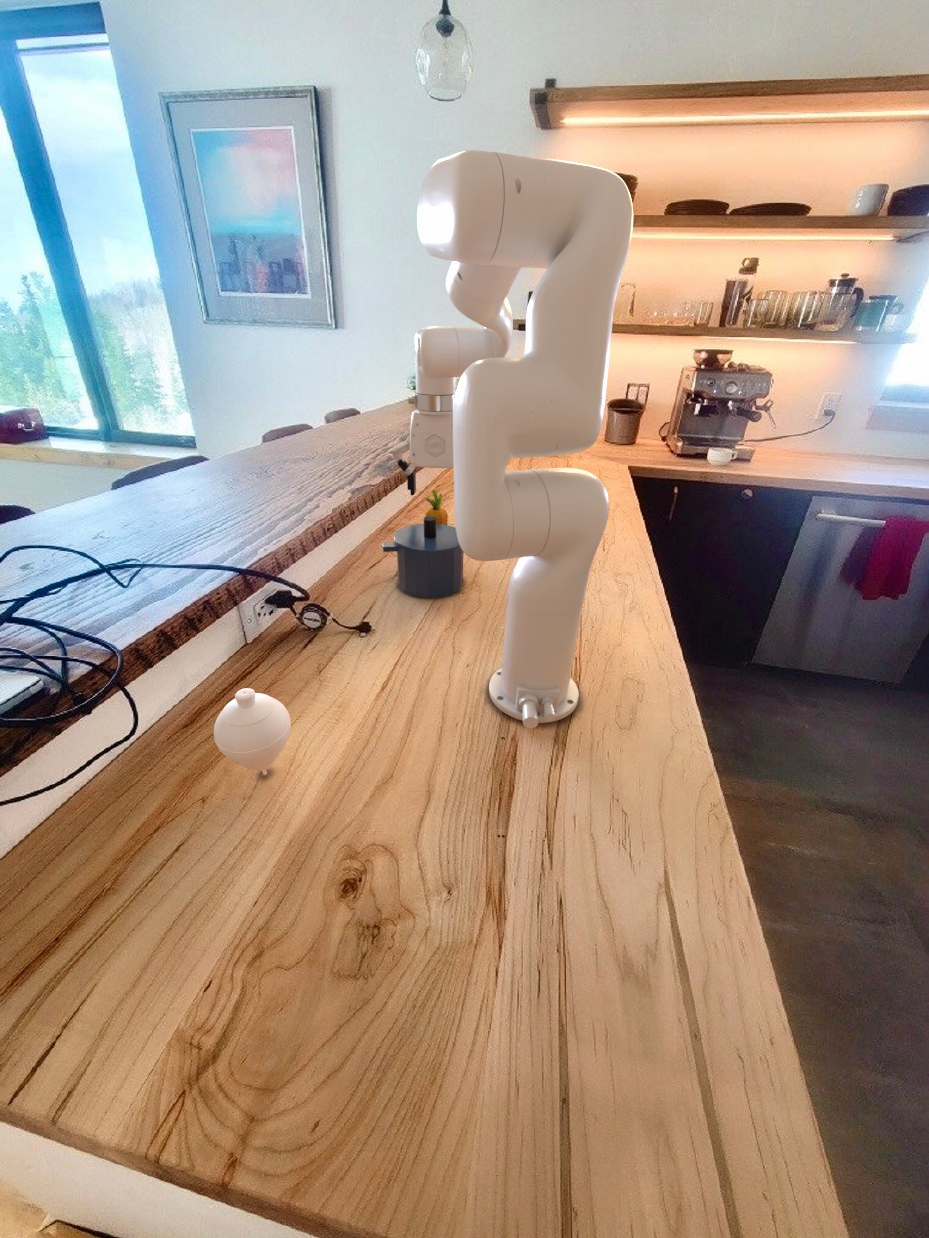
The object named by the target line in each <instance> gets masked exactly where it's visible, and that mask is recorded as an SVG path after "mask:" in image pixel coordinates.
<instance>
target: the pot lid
mask: <svg viewBox="0 0 929 1238" xmlns="http://www.w3.org/2000/svg"><path fill="white" fill-rule="evenodd" d="M393 542H395V543H396V544H397V545H398V546H400V547H402V548H404V549H407V550H410V551H415V552H423V553H439V552H446V551H451V550H454V549H457V548H459V547H460V544H459V542H458V538H457V534H456V528H455V526H451V525H448V524H447V525H443V524H437V518H436V517H433V516H427V517H425V516H424V517H423V523H418V524H412V525H411V524H410V525H407V526H405V527H402V528H400V529H399V530H397V531H396V532H395V533H394V534H393Z"/></svg>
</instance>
